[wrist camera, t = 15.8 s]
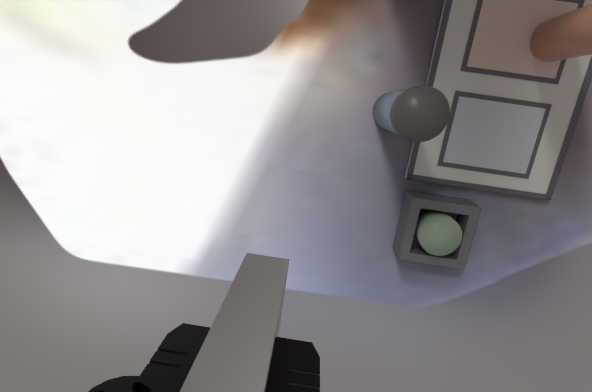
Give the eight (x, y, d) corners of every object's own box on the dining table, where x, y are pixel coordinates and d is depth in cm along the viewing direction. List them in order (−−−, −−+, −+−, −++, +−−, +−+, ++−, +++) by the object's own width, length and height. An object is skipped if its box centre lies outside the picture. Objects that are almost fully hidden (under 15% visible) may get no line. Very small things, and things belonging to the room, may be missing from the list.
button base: (405, 190, 41) (413, 197, 38) (468, 199, 41) (481, 207, 38) (392, 247, 43) (398, 259, 40) (452, 257, 43) (463, 269, 39)
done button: (417, 206, 40) (425, 213, 37) (457, 212, 40) (467, 220, 37) (409, 242, 41) (415, 252, 39) (447, 248, 41) (456, 258, 38)
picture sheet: (453, -40, 35) (456, -43, 34) (618, -18, 35) (624, -21, 34) (404, 177, 41) (406, 179, 40) (546, 198, 40) (550, 200, 40)
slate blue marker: (375, 88, 39) (400, 82, 27) (414, 94, 38) (456, 90, 27) (368, 127, 40) (388, 137, 28) (406, 133, 39) (442, 145, 28)
